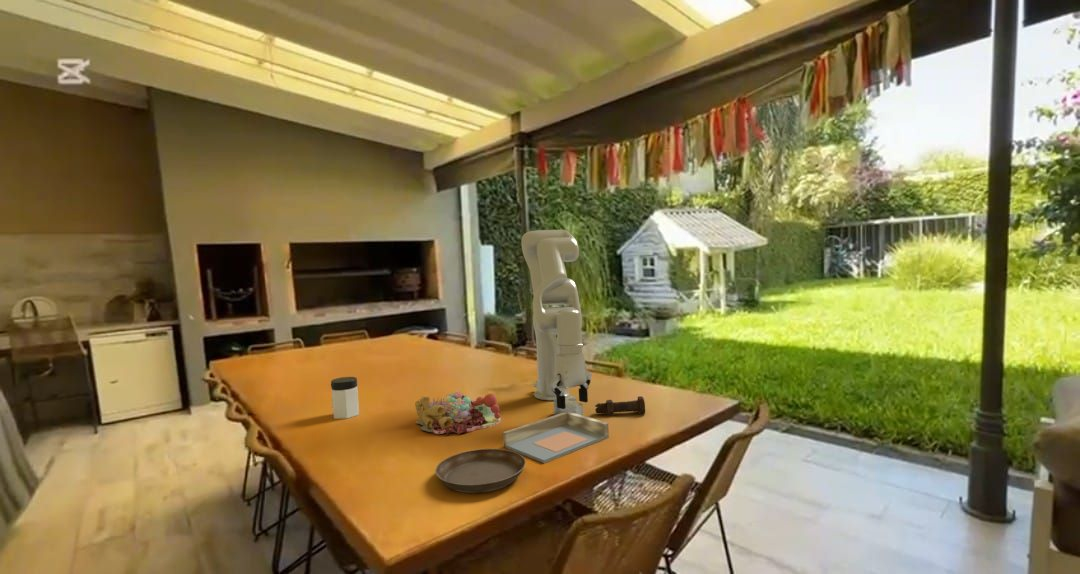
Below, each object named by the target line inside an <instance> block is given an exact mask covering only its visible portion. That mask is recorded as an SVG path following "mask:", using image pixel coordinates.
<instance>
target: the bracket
mask: <svg viewBox="0 0 1080 574" xmlns="http://www.w3.org/2000/svg"><path fill="white" fill-rule="evenodd" d="M565 404H566V408H565V409H561V408H557V399H556V400H553V411H554V412H553V413H554V415H557V414H560V413H563V412H566V411H568V412H572V413H575V414H579V415H582V416H584V405H583V403H580V402H577V397H576V396H573V395H569V396H566V397H565Z"/></svg>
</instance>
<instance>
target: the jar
mask: <svg viewBox="0 0 1080 574" xmlns="http://www.w3.org/2000/svg"><path fill="white" fill-rule="evenodd" d="M330 388H331V396H332V397H331V403H332V404H331V406H332V410H333V411H332V413H333V414H332V415H333V419H334V420H335V419H336V420H337V419H338V420H339V419H340V420H343V419H349V418H350V419H351V418H353V417H358V416H359V415H360V407H359V406H360V405H359V392H358V390H359V389H358V378H357V377H355V376H343V377H338V378H334V379H332V380H331V381H330Z"/></svg>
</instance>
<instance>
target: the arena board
mask: <svg viewBox="0 0 1080 574" xmlns="http://www.w3.org/2000/svg"><path fill="white" fill-rule="evenodd" d="M609 434H610V433H609ZM609 434H608V435H606V436H604V435H601V434H598V433H594V432H591V431H588V430H585V429H581V428H578V427H575V426H572V425H569V424H566V425H564V426H561V427H558V428H555V429H552V430H549V431H547V432H544V433H541V434H538V435H535V436H532V437H529V438H527V439H524V440H521V441H518V442H515V443H512V444H510V445H507V447H506V450H509V451H513V452H515V453H518V454H520V455H521V456H522V455H523V456H524V457H528V458H530V459H532V460H535V461H537V462H538V463H542V464H546V463H549V462H551V461H553V460H554V461H555V459H559V458H561V457H563V456H566V455H568V454H571V453H573V452H576V451H578V450H581V449H583V448H587V447H588V446H590V445H593V444H596V443H598V442H600V441H603V440H605V439H607V438H610V435H609Z"/></svg>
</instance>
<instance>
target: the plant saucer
mask: <svg viewBox="0 0 1080 574" xmlns="http://www.w3.org/2000/svg"><path fill="white" fill-rule="evenodd" d="M526 463H527V462H526V458H525V457H524V456H522V454H520V453H517V452H515V451H512V450H509V449H501V448H498V449H497V448H482V449H481V448H480V449H474V450H467V451H463V452H460V453H456V454H454V455H451V456H449V457H447V458H445V459H443V460H442V461H441V462H439V464H438V465H437V466H436V467H435V475H436V477H437V478H438V479H439V480H440V482H441V483H442V484H443V485H444V486H446V487H448V488H450V489H451V490H454V491H456V492H461V493H465V494H466V493H467V494H481V493H488V492H495V491H497V490H501V489H503V488H506V487H507V486H509V485H511V484H512V483H513V482H514V481H515V480H516V479H518V477H520V475H521V474H522V472H523V470H524V469H525V467H526Z"/></svg>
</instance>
